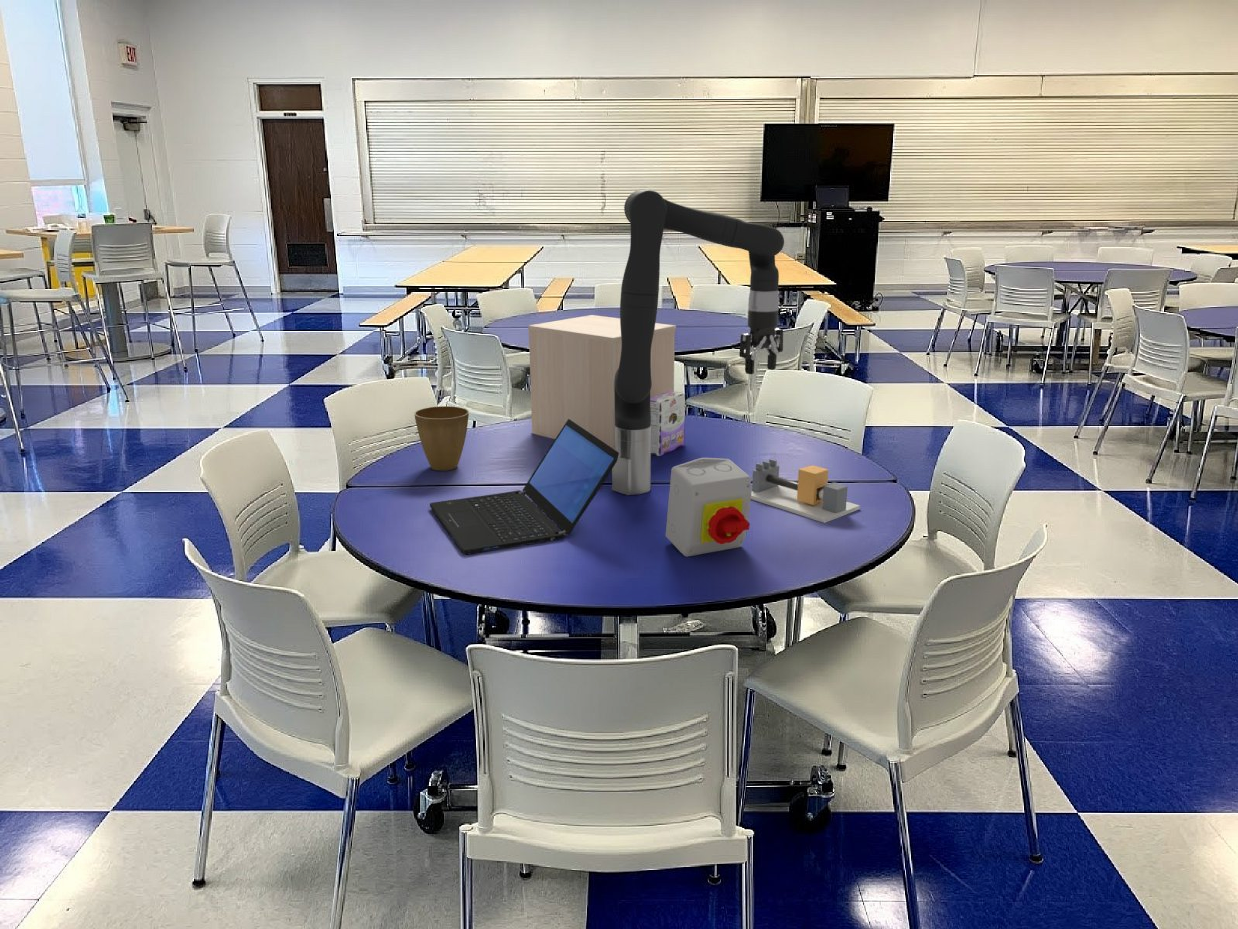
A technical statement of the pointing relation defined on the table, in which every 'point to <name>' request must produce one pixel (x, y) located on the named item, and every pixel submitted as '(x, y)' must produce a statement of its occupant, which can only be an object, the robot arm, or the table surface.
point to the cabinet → (586, 373)
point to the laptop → (534, 498)
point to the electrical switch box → (708, 506)
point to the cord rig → (785, 495)
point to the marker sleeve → (811, 483)
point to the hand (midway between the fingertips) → (760, 371)
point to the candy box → (667, 422)
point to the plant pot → (442, 435)
